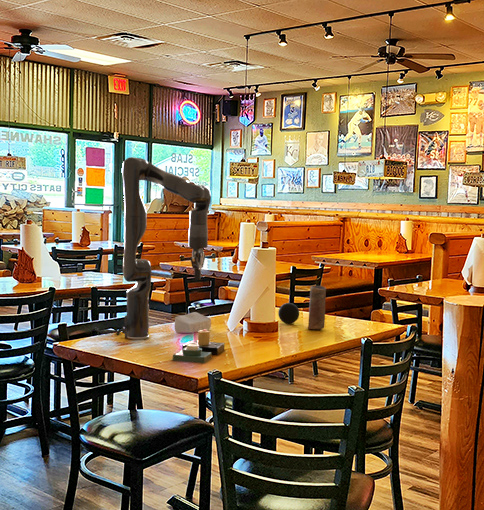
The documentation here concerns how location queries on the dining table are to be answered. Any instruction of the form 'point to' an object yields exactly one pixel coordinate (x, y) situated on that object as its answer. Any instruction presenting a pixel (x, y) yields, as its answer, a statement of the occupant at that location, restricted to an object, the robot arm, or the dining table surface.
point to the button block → (192, 356)
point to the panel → (208, 347)
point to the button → (192, 347)
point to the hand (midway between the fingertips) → (197, 278)
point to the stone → (192, 323)
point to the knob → (203, 337)
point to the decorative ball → (288, 313)
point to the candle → (317, 307)
